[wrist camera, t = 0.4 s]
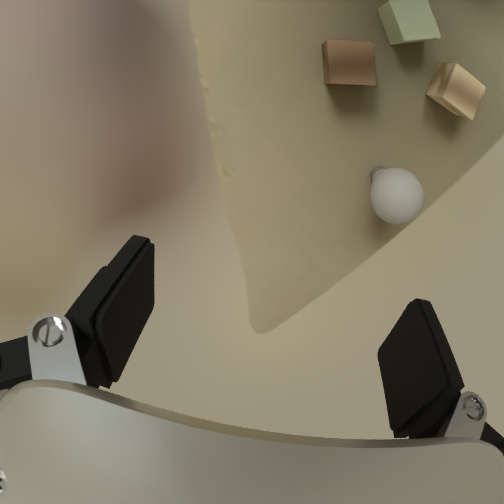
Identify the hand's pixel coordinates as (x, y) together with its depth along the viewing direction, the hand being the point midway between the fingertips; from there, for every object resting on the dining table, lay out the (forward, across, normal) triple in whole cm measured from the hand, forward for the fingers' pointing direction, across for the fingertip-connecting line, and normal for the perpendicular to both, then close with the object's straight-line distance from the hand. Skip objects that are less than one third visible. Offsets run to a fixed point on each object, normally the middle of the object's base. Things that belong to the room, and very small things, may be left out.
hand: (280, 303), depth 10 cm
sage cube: (+30, -10, -19) cm, 37 cm away
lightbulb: (+30, -12, +1) cm, 33 cm away
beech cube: (+30, -18, -13) cm, 38 cm away
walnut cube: (+30, -4, -11) cm, 32 cm away
